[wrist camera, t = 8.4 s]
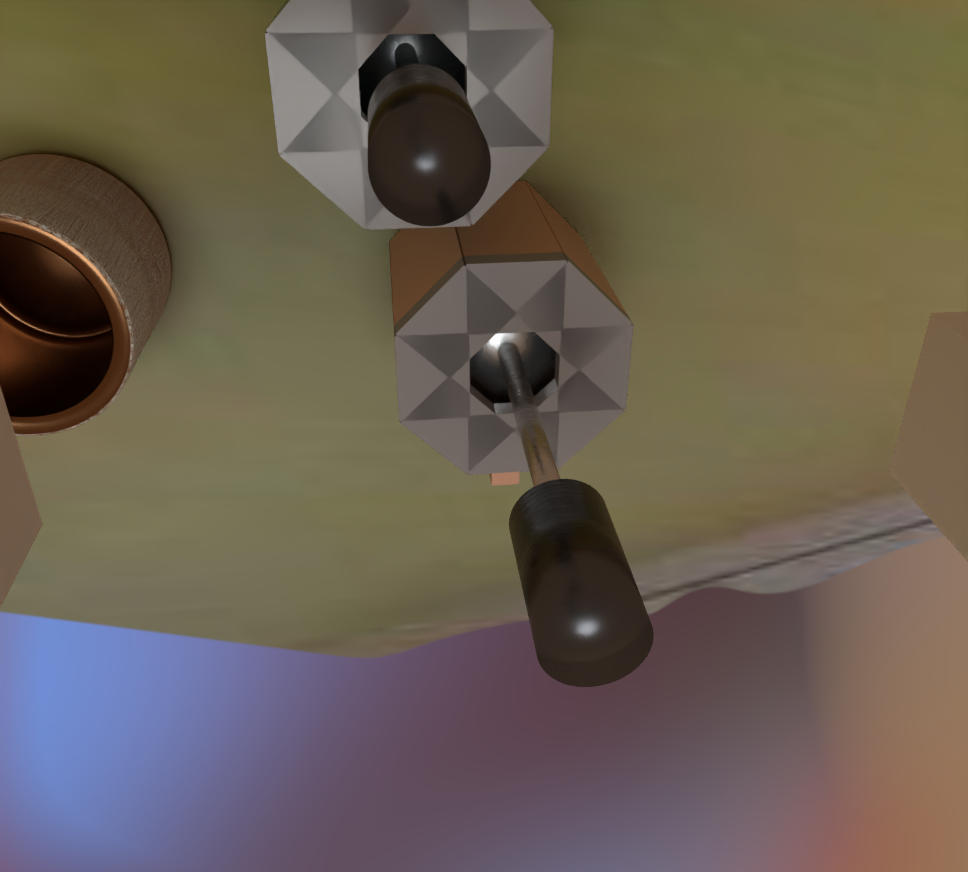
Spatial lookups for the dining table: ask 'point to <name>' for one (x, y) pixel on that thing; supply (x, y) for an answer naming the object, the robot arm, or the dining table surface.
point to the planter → (73, 289)
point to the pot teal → (336, 90)
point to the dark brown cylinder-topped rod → (422, 131)
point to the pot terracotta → (505, 309)
